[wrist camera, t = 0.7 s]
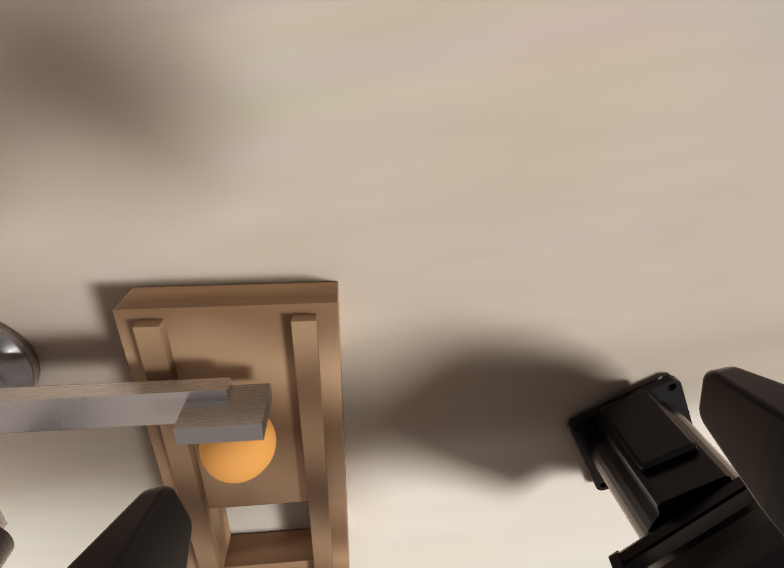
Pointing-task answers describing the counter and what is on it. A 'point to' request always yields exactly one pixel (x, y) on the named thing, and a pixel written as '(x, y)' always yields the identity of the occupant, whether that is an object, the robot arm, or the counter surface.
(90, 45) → the counter surface
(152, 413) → the lever
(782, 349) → the counter surface
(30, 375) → the pivot post
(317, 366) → the lane
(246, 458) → the ball
